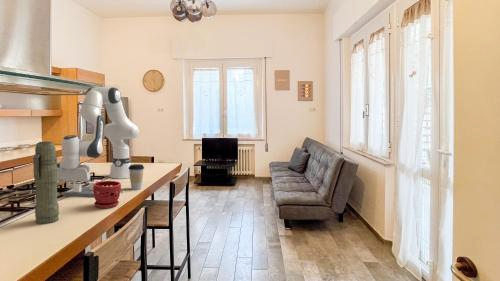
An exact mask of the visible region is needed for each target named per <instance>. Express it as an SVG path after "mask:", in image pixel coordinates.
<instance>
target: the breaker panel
mask: <svg viewBox="0 0 500 281" xmlns="http://www.w3.org/2000/svg"><path fill="white" fill-rule="evenodd" d="M81 188H82V191H81V192H74V188H73V189H72V188H69V190H66V191H64V192H63V193H62V196H63V197H71V198H72V197H73V198H74V197H77V198H78V197H79V198H80V197H81V198H82V197H83V198H94V193H93V190H89V186H83V185H81ZM97 192H98V191H97Z"/></svg>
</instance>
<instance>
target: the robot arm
mask: <svg viewBox="0 0 500 281" xmlns="http://www.w3.org/2000/svg"><path fill="white" fill-rule="evenodd" d="M121 97H122V94H121V91H120V90H119V89H118V88H116V87H109V86H96V87H95V86H92V87H88V88H87V90H86V91H85V96H84V99H83V101H82V103H81V107H80V117H81V118H82V119H83V120H84V121H86V122H88V123H89V124H92V125H93V136H92V140H84V139H81V138H79V136H78V135H75V134H72V135H65V136H63V138H62V140H61V153H62V157H61V161H59V162H57V169H58V181H65V183H66V185H67V188H68V189H73V188H74V187H73V184H77V182H88V181H90V179H91V174H90V173H91V172H90V166H89V165H87V164H81V162H80V157H83V158H91V159H97V158H100V156H102V154H103V153H104V136H105V137H106V138H107V139H108V140H109V142H110V144H111V146H112V160H111V161H112V164H111V165H110V171H109V174H108V175H107V177H108V178H111V179H121V180H123V179H130V171H129V169H128V168H129V167H130V165H133V164H132V163H131V160H132V156H130V146H129V145H128V144H127V143H125V142H124V140H130V139H131V140H133V139H137V137H139V135H140V129H139V126H138V125H137V124H135V123H133V122H132V121H131V120H130V118H128V117H127V115H126V113H125V112H126V111H125V108H124V104H123V101H122V98H121ZM103 105H104V107H105V110H106V114H107V117H108V119H109V120H110V121H111V123H107V124H105V120H104V117H103V116H102V110H103V109H102V108H103ZM123 139H124V140H123ZM71 182H72V184H71Z"/></svg>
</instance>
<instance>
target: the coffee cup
mask: <svg viewBox="0 0 500 281" xmlns="http://www.w3.org/2000/svg"><path fill="white" fill-rule="evenodd" d="M128 169H129V171H130V178H129V180H130V188H131V190H132V191H138V190H141V189H142V184H143V178H144V176H143V175H144V169H145V166H144V165H143V164H140V163H139V164H137V163H135V164H132V165H130V167H129V168H128Z"/></svg>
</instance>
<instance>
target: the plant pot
mask: <svg viewBox="0 0 500 281" xmlns="http://www.w3.org/2000/svg"><path fill="white" fill-rule="evenodd" d="M97 191H98V192H97ZM121 191H122V183H121V182H119V181H116V180H115V181H114V180H101V181H100V182H96V183H94V184H93V193H94V197H93V198H94V200H95V201H94V203H93V205H94V206H95V207H97V208H100V209H110V208H114V207H116V206H118V205H119V204H120V203H119V202H120V201H119V198H120V195H121Z"/></svg>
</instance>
